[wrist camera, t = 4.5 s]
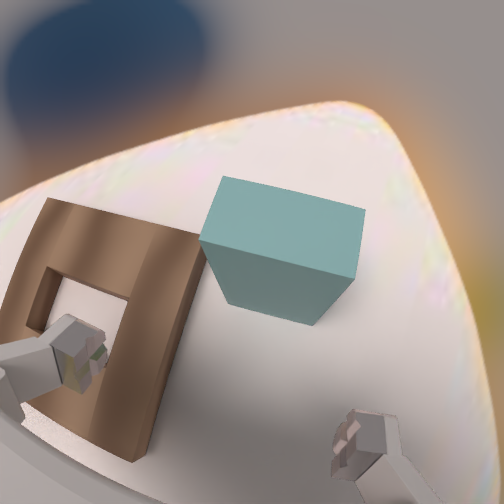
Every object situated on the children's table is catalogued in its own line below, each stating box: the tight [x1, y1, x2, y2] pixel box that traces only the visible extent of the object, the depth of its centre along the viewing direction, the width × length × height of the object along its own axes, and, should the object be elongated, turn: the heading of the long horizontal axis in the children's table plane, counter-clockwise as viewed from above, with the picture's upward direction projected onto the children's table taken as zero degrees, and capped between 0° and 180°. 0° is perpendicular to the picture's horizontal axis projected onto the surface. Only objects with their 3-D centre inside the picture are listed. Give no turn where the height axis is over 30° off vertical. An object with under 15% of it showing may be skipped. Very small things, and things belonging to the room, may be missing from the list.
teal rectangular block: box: [198, 176, 365, 326], centre depth 17 cm, size 6×3×11 cm, turn 74°
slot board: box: [0, 198, 207, 463], centre depth 21 cm, size 15×16×2 cm
